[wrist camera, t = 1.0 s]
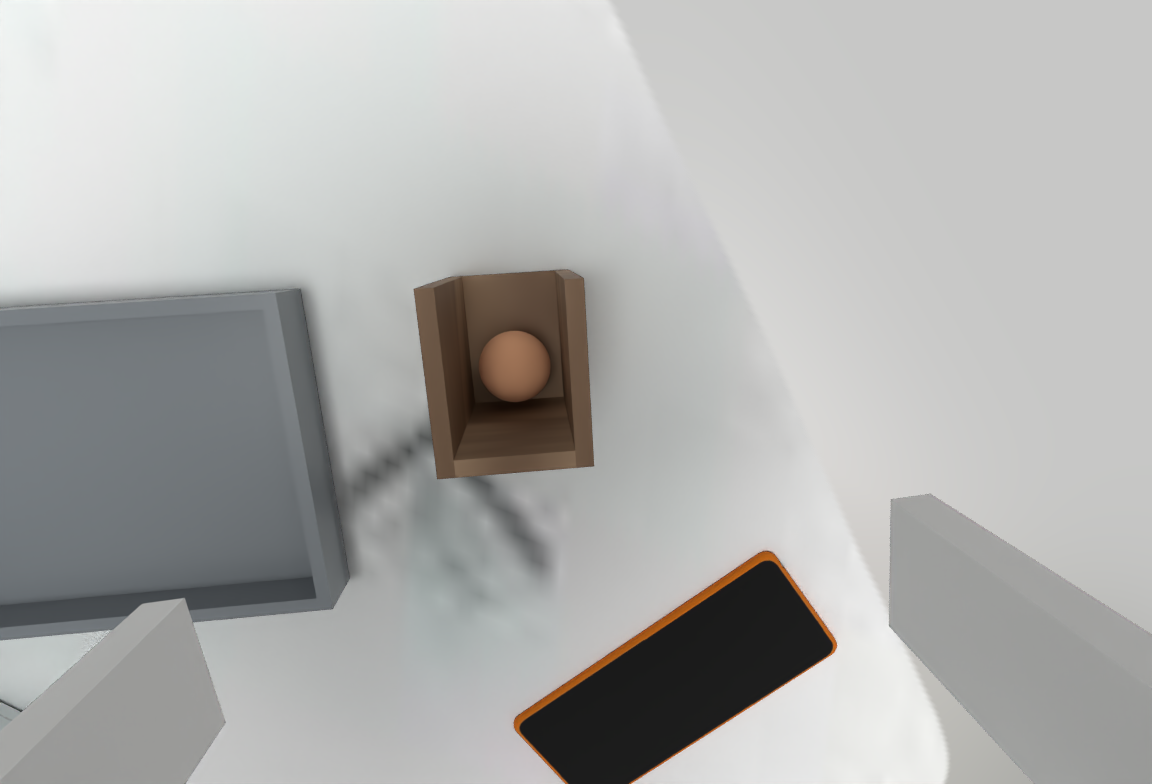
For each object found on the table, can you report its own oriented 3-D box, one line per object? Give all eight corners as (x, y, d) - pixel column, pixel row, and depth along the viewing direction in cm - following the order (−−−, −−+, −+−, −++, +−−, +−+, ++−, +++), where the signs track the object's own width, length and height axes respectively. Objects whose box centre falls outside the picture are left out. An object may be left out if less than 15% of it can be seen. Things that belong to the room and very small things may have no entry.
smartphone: (509, 715, 32) (508, 728, 31) (765, 541, 30) (772, 550, 29) (590, 801, 33) (591, 816, 32) (836, 641, 32) (844, 651, 31)
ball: (485, 398, 26) (478, 410, 23) (479, 331, 26) (471, 334, 23) (552, 393, 26) (554, 404, 23) (547, 326, 26) (548, 329, 23)
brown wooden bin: (464, 413, 27) (437, 479, 19) (449, 277, 25) (413, 289, 18) (576, 404, 27) (593, 466, 20) (568, 269, 26) (583, 278, 18)
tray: (-40, 613, 27) (-95, 649, 25) (-146, 316, 24) (-222, 324, 22) (349, 578, 29) (332, 609, 26) (300, 288, 25) (275, 293, 23)
